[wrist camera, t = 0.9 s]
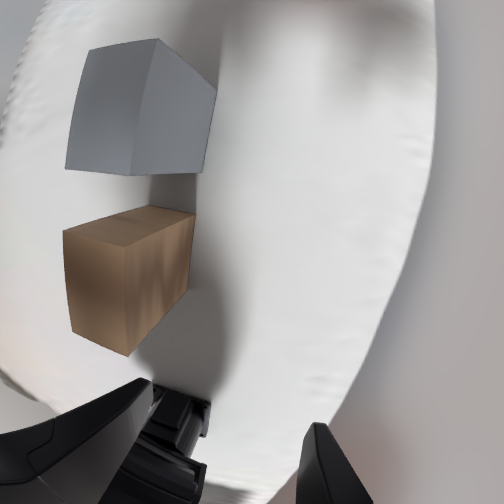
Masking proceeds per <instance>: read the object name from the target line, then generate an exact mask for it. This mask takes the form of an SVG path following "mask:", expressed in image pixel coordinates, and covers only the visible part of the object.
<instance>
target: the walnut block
mask: <svg viewBox="0 0 504 504" xmlns="http://www.w3.org/2000/svg"><path fill="white" fill-rule="evenodd" d="M194 223H195V214H190V213H185V212H179V211H174V210H169V209H163V208H158V207H153V206H144V207H140V208H136V209H132V210H129V211H125V212H122V213H118V214H115V215H111V216H108V217H104V218H101V219H98V220H94V221H91V222H88V223H85V224H82V225H78V226H75V227H72V228H69V229H66V230H63V255H64V271H65V282H66V291H67V300H68V307H69V314H70V320H71V326H72V332H74V333H76V334H78V335H80V336H82V337H84V338H86V339H88V340H90V341H92V342H94V343H96V344H99V345H101V346H103V347H105V348H107V349H110V350H112V351H114V352H117V353H119V354H121V355H124V356H126V357H128V356H129V355H130V354H131V353H132V352H133V351H134V350H135V348H136V347H137V346H138V345H139V344H140V343H141V342H142V340H143V339H144V338H145V337H146V336H147V335H148V334H149V332H150V331H151V330H152V329H153V328H154V327H155V326H156V325H157V323H158V322H159V321H160V320H161V319H162V318H163V317H164V316H165V314H166V313H167V312H168V311H169V310H170V309H171V308H172V307H173V306H174V304H175V303H176V302H177V301H178V300H179V299H180V298H181V297H182V296H183V294H184V293H185V292H186V291H187V284H188V274H189V265H190V256H191V247H192V239H193V231H194Z"/></svg>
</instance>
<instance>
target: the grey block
mask: <svg viewBox="0 0 504 504" xmlns="http://www.w3.org/2000/svg"><path fill="white" fill-rule="evenodd" d="M216 94H217V90H216V89H215V88H214V87H213V86H212V85H211V84H210V83H209V82H208V81H206V80H205V79H204V78H203V77H202V76H201V75H200V74H199V73H198V72H197V71H196V70H195V69H193V68H192V67H191V66H190V65H189V64H188V63H187V62H186V61H184V60H183V59H182V58H181V57H180V56H179V55H178V54H176V53H175V52H174V51H173V50H172V49H171V48H169V47H168V46H167V45H166V44H165V43H163V42H162V41H161V40H160V39H159V38H157V39H148V40H141V41H134V42H127V43H122V44H116V45H111V46H106V47H101V48H97V49H93V50H89V52H88V55H87V58H86V62H85V65H84V69H83V72H82V76H81V80H80V83H79V87H78V92H77V96H76V100H75V105H74V110H73V115H72V121H71V126H70V133H69V139H68V147H67V155H66V164H65V169H67V170H79V171H89V172H99V173H108V174H117V175H125V176H136V175H152V174H174V173H202V169H203V163H204V157H205V151H206V145H207V140H208V134H209V129H210V124H211V119H212V114H213V109H214V104H215V99H216Z"/></svg>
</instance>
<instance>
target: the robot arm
mask: <svg viewBox="0 0 504 504" xmlns="http://www.w3.org/2000/svg"><path fill="white" fill-rule="evenodd" d="M150 407H151V409H150ZM210 408H211V404H210V403H209V402H207V401H204V400H200V399H197V398H194V397H190V396H187V395H184V394H181V393H178V392H175V391H172V390H169V389H167V388H164V387H161V386H158V385H156V384H152V382H151V381H149V380H147V379H144V378H137V379H135V380H134V381H132V382H130V383H128V384H126V385H124V386H121V387H119V388H117V389H115V390H113V391H111V392H109V393H107V394H105V395H103V396H101V397H99V398H97V399H95V400H92V401H90V402H88V403H86V404H84V405H82V406H79V407H77V408H75V409H73V410H70V411H68V412H66V413H64V414H61V415H59V416H57V417H55V418H52V419H50V420H48V421H45V422H42V423H39V424H37V425H34V426H31V427H28V428H24V429H20V430H17V431H12V432H8V433H4V434H0V504H198V503H199V501H200V498H201V495H202V490H203V484H204V479H205V474H206V468H207V465H206V464H204V463H199V462H197V461H195V460H193V459H191V458H190V457H191V455H192V452H193V450H194V447H195V445H196V442H197V440H198V437H203V438H205V437H206V435H207V430H208V423H209V415H210ZM149 409H150V410H149ZM296 504H373V500H372V499H371V497H370V496H369V494H368V493H367V491H366V489H365V488H364V486H363V484H362V483H361V481H360V479H359V478H358V476H357V475H356V473H355V471H354V470H353V468H352V466H351V465H350V463H349V461H348V460H347V458H346V457H345V455H344V453H343V451H342V450H341V448H340V446H339V445H338V443H337V441H336V440H335V438H334V436H333V435H332V433H331V431H330V429H329V428H328V426H327V425H326V424H325V423H319V422H313V423H312V424H311V426H310V428H309V430H308V431H307V433H306V435H305V437H304V440H303V446H302V452H301V459H300V465H299V470H298V477H297V487H296Z"/></svg>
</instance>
